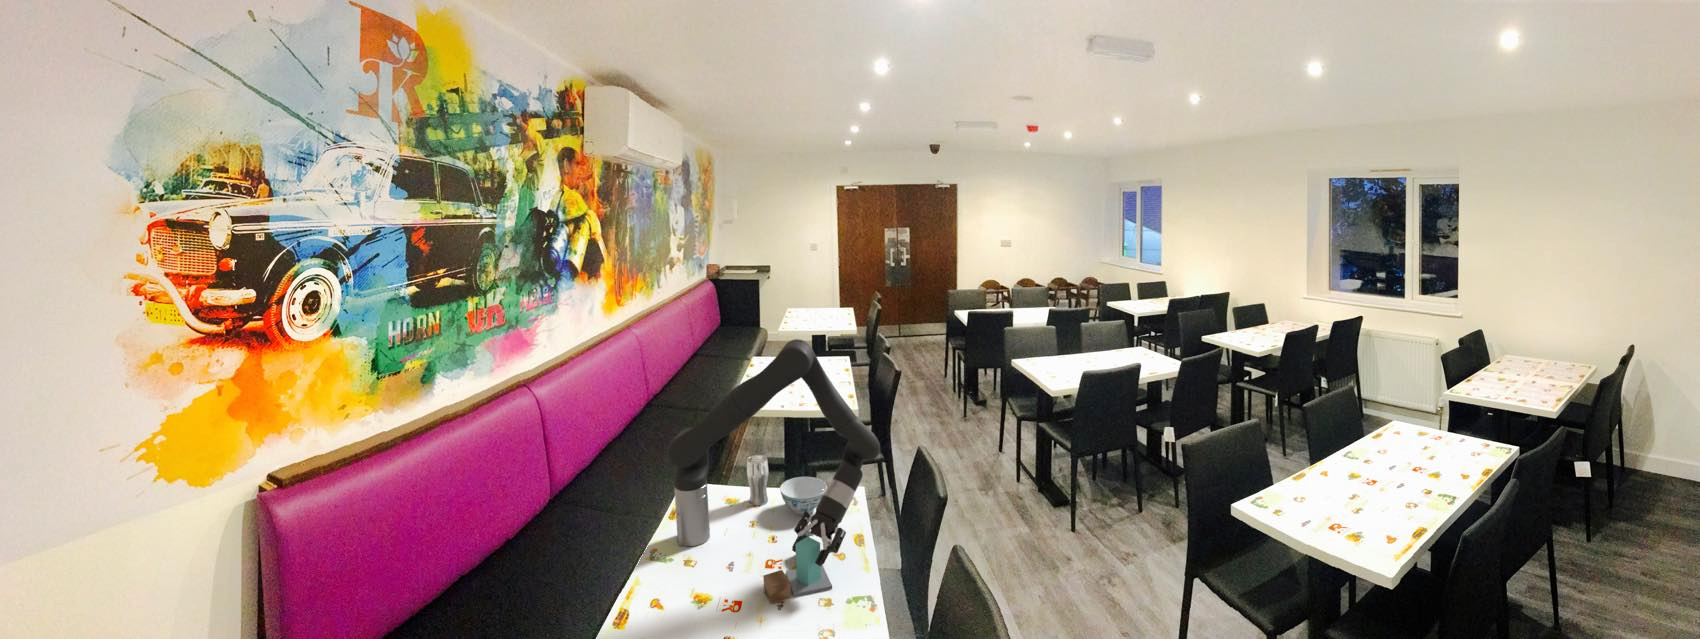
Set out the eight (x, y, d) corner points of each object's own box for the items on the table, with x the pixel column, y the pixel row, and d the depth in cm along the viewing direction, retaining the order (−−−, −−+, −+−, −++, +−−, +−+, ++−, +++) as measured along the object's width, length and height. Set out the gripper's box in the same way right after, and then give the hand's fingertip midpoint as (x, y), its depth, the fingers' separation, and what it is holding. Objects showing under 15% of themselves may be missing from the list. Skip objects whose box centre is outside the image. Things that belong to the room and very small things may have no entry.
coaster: (794, 596, 148) (794, 593, 148) (785, 573, 158) (785, 571, 158) (832, 588, 152) (832, 585, 151) (821, 566, 161) (821, 563, 161)
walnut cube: (770, 604, 146) (770, 586, 145) (764, 593, 150) (763, 575, 149) (789, 598, 148) (789, 580, 147) (782, 587, 152) (781, 569, 151)
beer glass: (765, 507, 193) (763, 464, 190) (745, 505, 194) (743, 462, 192) (772, 497, 200) (770, 455, 197) (752, 495, 201) (750, 454, 198)
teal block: (808, 585, 151) (807, 550, 150) (796, 578, 154) (795, 543, 153) (820, 577, 155) (820, 542, 153) (808, 570, 158) (808, 536, 156)
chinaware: (825, 521, 184) (825, 498, 183) (777, 521, 184) (777, 498, 183) (828, 498, 199) (828, 476, 197) (783, 498, 199) (783, 476, 198)
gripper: (809, 487, 161) (779, 543, 155) (848, 504, 152) (818, 564, 146) (823, 498, 166) (795, 553, 160) (862, 515, 157) (833, 574, 150)
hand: (806, 558), depth 153 cm, fingers open, 8 cm apart
